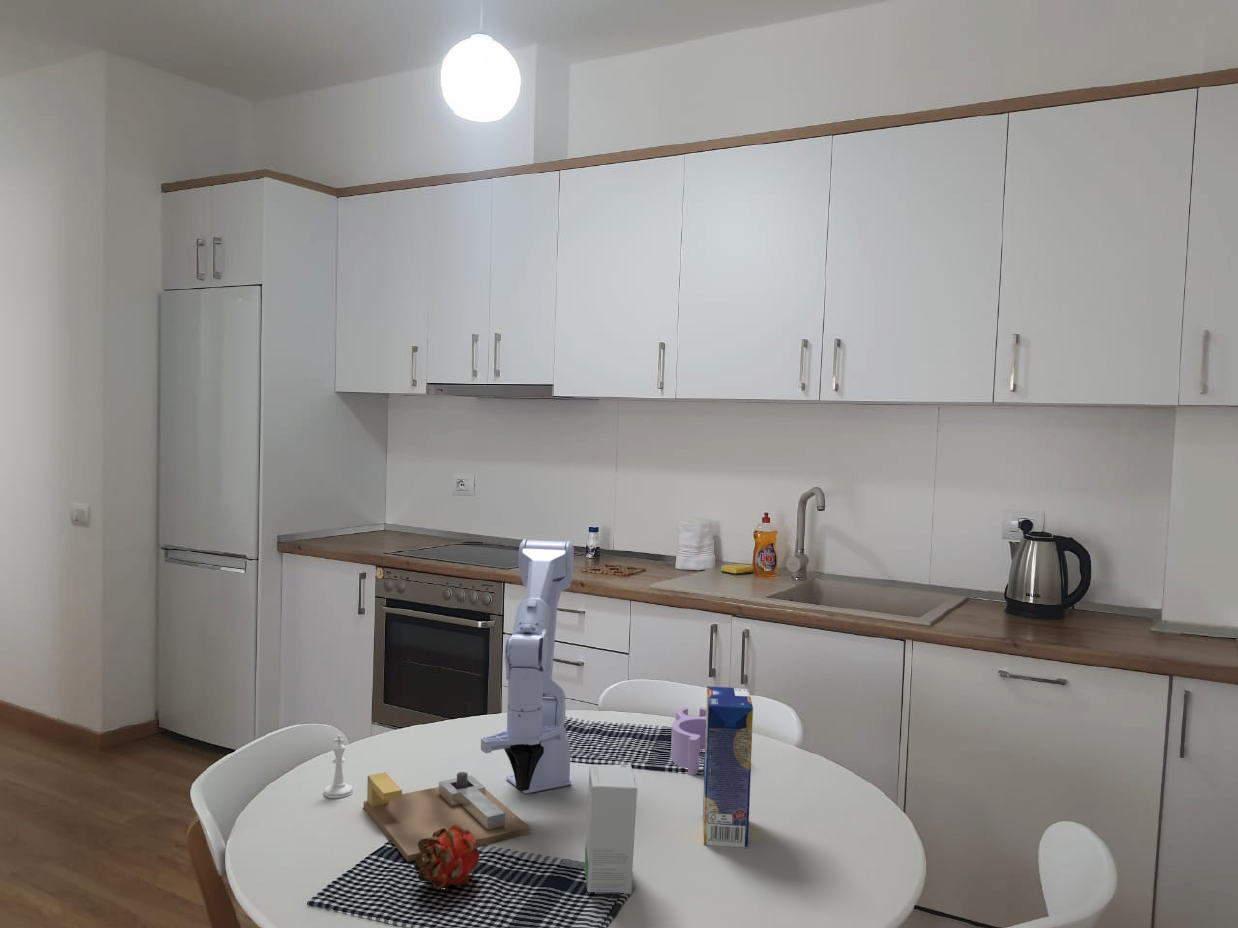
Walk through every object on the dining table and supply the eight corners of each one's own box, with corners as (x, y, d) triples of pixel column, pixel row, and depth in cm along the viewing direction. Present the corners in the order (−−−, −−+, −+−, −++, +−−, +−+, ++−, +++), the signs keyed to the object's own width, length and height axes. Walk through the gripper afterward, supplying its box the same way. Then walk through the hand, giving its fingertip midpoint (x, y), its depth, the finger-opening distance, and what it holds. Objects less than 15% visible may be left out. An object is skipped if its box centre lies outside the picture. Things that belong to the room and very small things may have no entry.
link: (438, 792, 158) (438, 781, 158) (471, 786, 161) (471, 775, 161) (478, 831, 144) (478, 818, 143) (513, 823, 147) (513, 811, 147)
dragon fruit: (422, 915, 124) (456, 886, 136) (473, 884, 123) (503, 857, 135) (392, 858, 126) (428, 833, 137) (442, 826, 125) (474, 804, 136)
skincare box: (584, 867, 136) (587, 762, 135) (629, 866, 136) (632, 762, 135) (587, 896, 127) (590, 785, 127) (634, 895, 128) (638, 785, 127)
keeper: (384, 797, 156) (385, 772, 156) (401, 816, 149) (402, 789, 148) (367, 801, 154) (367, 775, 154) (383, 820, 147) (383, 793, 147)
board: (474, 785, 165) (475, 757, 165) (530, 833, 146) (531, 802, 146) (363, 807, 154) (364, 777, 154) (407, 861, 136) (408, 828, 135)
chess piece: (344, 799, 157) (345, 741, 157) (317, 796, 158) (318, 738, 158) (358, 788, 162) (359, 732, 161) (332, 785, 163) (333, 729, 162)
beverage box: (743, 817, 154) (748, 688, 154) (748, 847, 143) (753, 708, 143) (702, 815, 155) (707, 686, 154) (703, 844, 144) (708, 705, 143)
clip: (662, 739, 192) (663, 706, 192) (721, 739, 194) (722, 707, 193) (676, 776, 173) (677, 739, 172) (742, 776, 174) (743, 739, 173)
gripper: (494, 719, 144) (492, 805, 144) (575, 707, 152) (573, 788, 152) (476, 707, 150) (474, 789, 150) (555, 696, 158) (552, 774, 158)
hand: (522, 788), depth 152 cm, fingers closed
